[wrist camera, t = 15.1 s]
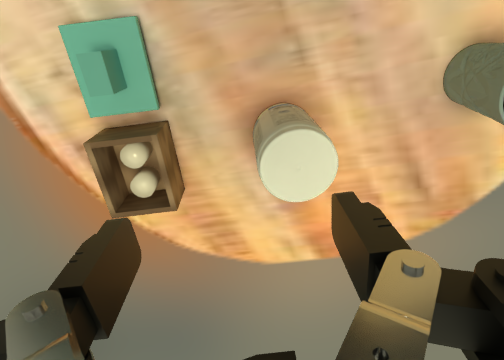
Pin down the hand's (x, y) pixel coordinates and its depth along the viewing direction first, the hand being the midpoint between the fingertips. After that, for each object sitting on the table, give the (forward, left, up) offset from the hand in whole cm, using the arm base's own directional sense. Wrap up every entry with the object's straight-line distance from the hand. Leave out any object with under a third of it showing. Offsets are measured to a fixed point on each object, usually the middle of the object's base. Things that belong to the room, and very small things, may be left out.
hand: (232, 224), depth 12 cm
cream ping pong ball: (+8, -16, -35) cm, 40 cm away
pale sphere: (+12, -16, -35) cm, 41 cm away
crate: (+10, -16, -36) cm, 41 cm away
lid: (-4, -17, -36) cm, 40 cm away
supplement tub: (+8, +6, -36) cm, 38 cm away
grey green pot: (+3, +35, -36) cm, 51 cm away
